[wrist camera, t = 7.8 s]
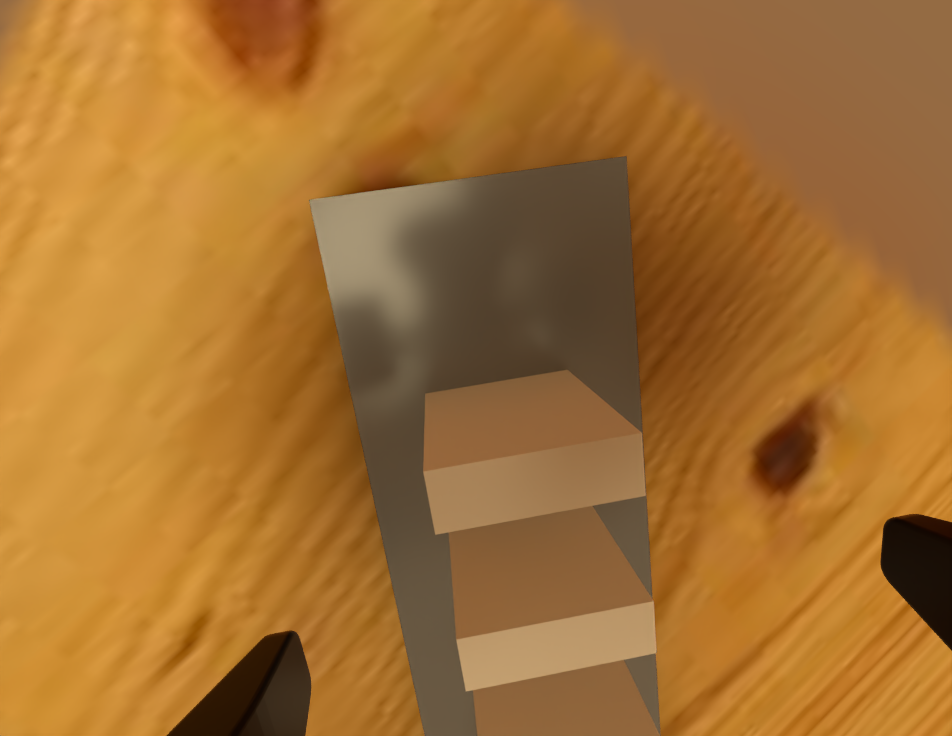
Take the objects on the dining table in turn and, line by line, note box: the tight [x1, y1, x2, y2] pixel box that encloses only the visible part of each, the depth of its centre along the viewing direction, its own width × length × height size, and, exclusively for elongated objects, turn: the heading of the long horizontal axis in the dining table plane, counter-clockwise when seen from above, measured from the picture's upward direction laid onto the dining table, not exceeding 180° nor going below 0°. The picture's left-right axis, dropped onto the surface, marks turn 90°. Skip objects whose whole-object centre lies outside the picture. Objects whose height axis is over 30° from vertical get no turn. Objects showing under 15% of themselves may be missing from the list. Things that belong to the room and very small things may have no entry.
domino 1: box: [423, 370, 646, 535], centre depth 14 cm, size 2×5×6 cm, turn 98°
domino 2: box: [449, 506, 657, 691], centre depth 15 cm, size 2×5×6 cm, turn 98°
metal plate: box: [309, 156, 660, 736], centre depth 19 cm, size 31×10×1 cm, turn 8°
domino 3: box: [473, 660, 660, 736], centre depth 16 cm, size 2×5×6 cm, turn 98°
